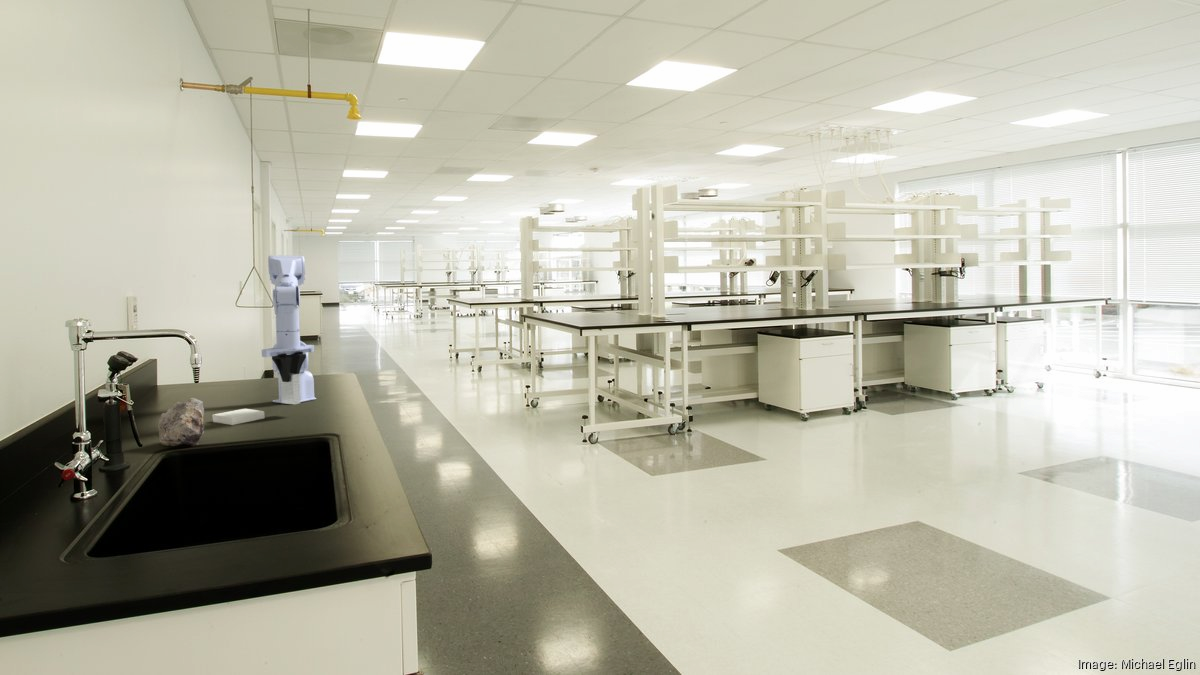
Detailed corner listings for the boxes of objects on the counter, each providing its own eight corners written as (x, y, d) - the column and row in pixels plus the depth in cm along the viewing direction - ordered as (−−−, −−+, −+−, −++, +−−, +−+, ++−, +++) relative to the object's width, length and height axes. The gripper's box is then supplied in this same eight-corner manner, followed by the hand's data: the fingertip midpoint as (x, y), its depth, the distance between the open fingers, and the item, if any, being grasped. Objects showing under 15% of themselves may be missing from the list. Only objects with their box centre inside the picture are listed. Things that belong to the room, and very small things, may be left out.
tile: (245, 408, 176) (212, 414, 168) (264, 411, 173) (231, 417, 165) (245, 416, 176) (212, 423, 168) (264, 419, 173) (232, 426, 165)
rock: (155, 460, 143) (159, 431, 137) (156, 419, 150) (160, 390, 144) (203, 458, 148) (209, 430, 143) (202, 419, 155) (208, 391, 150)
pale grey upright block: (288, 401, 178) (287, 372, 177) (300, 403, 175) (299, 373, 175) (281, 402, 176) (280, 373, 175) (293, 404, 174) (292, 374, 173)
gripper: (273, 333, 166) (275, 386, 167) (321, 329, 179) (322, 378, 180) (255, 332, 169) (257, 383, 170) (303, 328, 182) (305, 376, 183)
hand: (290, 381), depth 175 cm, fingers closed on pale grey upright block, 2 cm apart
